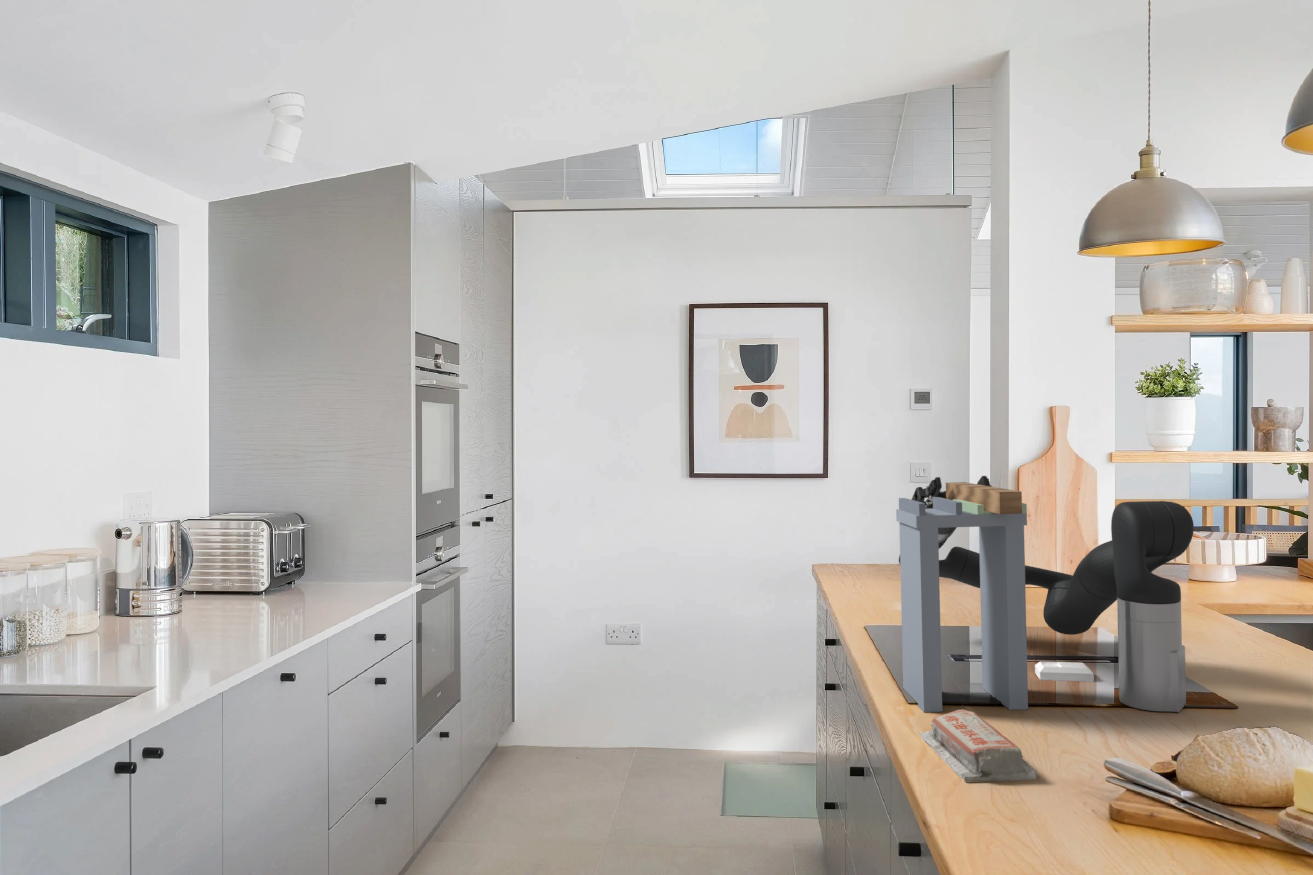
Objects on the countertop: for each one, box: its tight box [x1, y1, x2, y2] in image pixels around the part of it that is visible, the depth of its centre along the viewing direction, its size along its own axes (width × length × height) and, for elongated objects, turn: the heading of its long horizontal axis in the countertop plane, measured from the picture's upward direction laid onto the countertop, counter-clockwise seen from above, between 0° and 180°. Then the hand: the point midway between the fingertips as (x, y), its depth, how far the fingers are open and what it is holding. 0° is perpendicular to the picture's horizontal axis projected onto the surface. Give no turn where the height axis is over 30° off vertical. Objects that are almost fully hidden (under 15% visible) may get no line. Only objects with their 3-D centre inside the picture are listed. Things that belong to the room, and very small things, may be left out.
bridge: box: [895, 497, 1029, 713], centre depth 152 cm, size 12×18×34 cm, turn 90°
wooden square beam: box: [945, 481, 1023, 514], centre depth 156 cm, size 26×4×4 cm, turn 0°
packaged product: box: [919, 709, 1037, 782], centre depth 127 cm, size 18×5×10 cm
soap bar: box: [1034, 660, 1095, 683], centre depth 165 cm, size 5×9×3 cm, turn 77°
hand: (962, 480), depth 165 cm, fingers open, 8 cm apart
